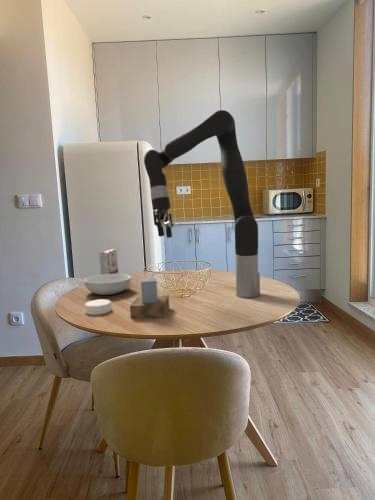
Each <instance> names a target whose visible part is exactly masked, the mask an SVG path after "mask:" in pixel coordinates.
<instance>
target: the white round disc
mask: <svg viewBox="0 0 375 500" xmlns="http://www.w3.org/2000/svg"><path fill="white" fill-rule="evenodd" d="M84 307H85V308H84V309H85V310H84V311H85V313H86V314H87V315H91V316H92V315H94V316H95V315H96V316H97V315H98V316H99V315H104V314H107V313H110V312H111V311H112V310H113V308H112V301H111V300H110V299H105V298H104V299H103V298H102V299H94V300H90V301H87V302H86V303H85V304H84Z"/></svg>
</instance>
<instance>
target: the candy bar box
mask: <svg viewBox="0 0 375 500" xmlns="http://www.w3.org/2000/svg"><path fill="white" fill-rule="evenodd" d="M117 252H118V251H117V249H116V248H115V249H114V248H113V249H110V248H109V249H107V250H104V251H101V252H99V253H98V254H99V256H98V257H99V265H100V275H102V274H119V265H118V253H117Z"/></svg>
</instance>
